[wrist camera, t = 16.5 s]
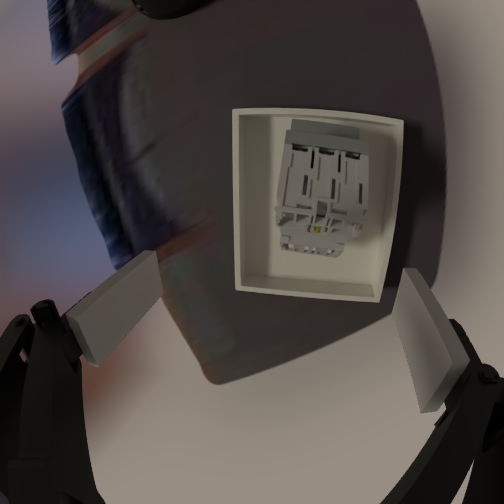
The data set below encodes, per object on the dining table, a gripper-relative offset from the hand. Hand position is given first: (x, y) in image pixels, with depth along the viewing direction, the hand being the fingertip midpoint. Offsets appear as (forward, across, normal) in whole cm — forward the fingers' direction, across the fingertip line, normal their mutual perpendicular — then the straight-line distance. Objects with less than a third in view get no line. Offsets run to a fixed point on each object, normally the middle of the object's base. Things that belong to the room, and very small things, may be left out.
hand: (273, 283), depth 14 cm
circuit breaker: (+26, +2, -2) cm, 26 cm away
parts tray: (+27, +2, -2) cm, 27 cm away
